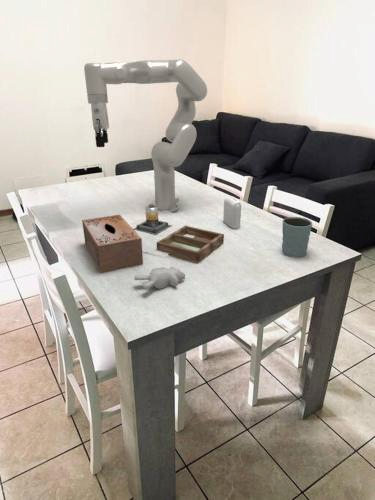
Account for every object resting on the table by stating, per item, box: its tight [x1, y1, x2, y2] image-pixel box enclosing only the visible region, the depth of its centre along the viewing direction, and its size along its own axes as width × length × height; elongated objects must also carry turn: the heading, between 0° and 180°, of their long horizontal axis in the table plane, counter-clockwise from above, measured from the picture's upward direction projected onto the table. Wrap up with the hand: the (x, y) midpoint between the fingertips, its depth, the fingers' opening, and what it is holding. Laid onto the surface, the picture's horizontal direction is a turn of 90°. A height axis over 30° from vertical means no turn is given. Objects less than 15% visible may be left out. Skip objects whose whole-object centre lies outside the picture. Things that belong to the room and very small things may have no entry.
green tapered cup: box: [281, 216, 313, 258], centre depth 131 cm, size 10×10×12 cm
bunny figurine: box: [133, 266, 186, 290], centre depth 112 cm, size 10×5×15 cm
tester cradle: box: [133, 220, 173, 236], centre depth 153 cm, size 12×12×2 cm
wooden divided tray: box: [156, 225, 225, 264], centre depth 136 cm, size 20×17×4 cm
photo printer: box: [222, 195, 242, 230], centre depth 155 cm, size 10×4×12 cm, turn 20°
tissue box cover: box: [81, 214, 144, 274], centre depth 131 cm, size 26×14×10 cm, turn 26°
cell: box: [145, 203, 159, 228], centre depth 151 cm, size 5×5×10 cm
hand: (102, 144), depth 147 cm, fingers open, 9 cm apart
